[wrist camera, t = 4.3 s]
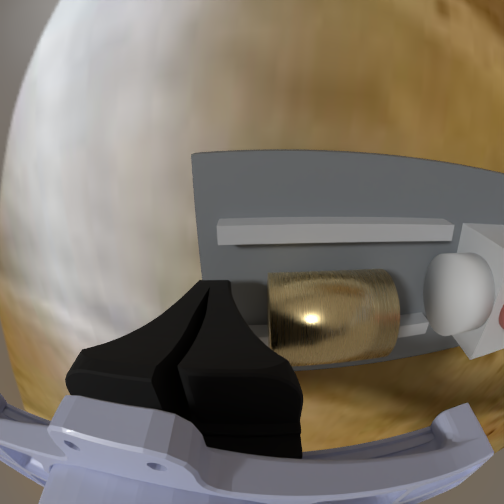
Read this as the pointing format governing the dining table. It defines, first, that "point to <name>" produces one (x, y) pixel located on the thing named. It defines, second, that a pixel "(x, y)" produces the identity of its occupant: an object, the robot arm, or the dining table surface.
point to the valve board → (360, 236)
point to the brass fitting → (332, 315)
